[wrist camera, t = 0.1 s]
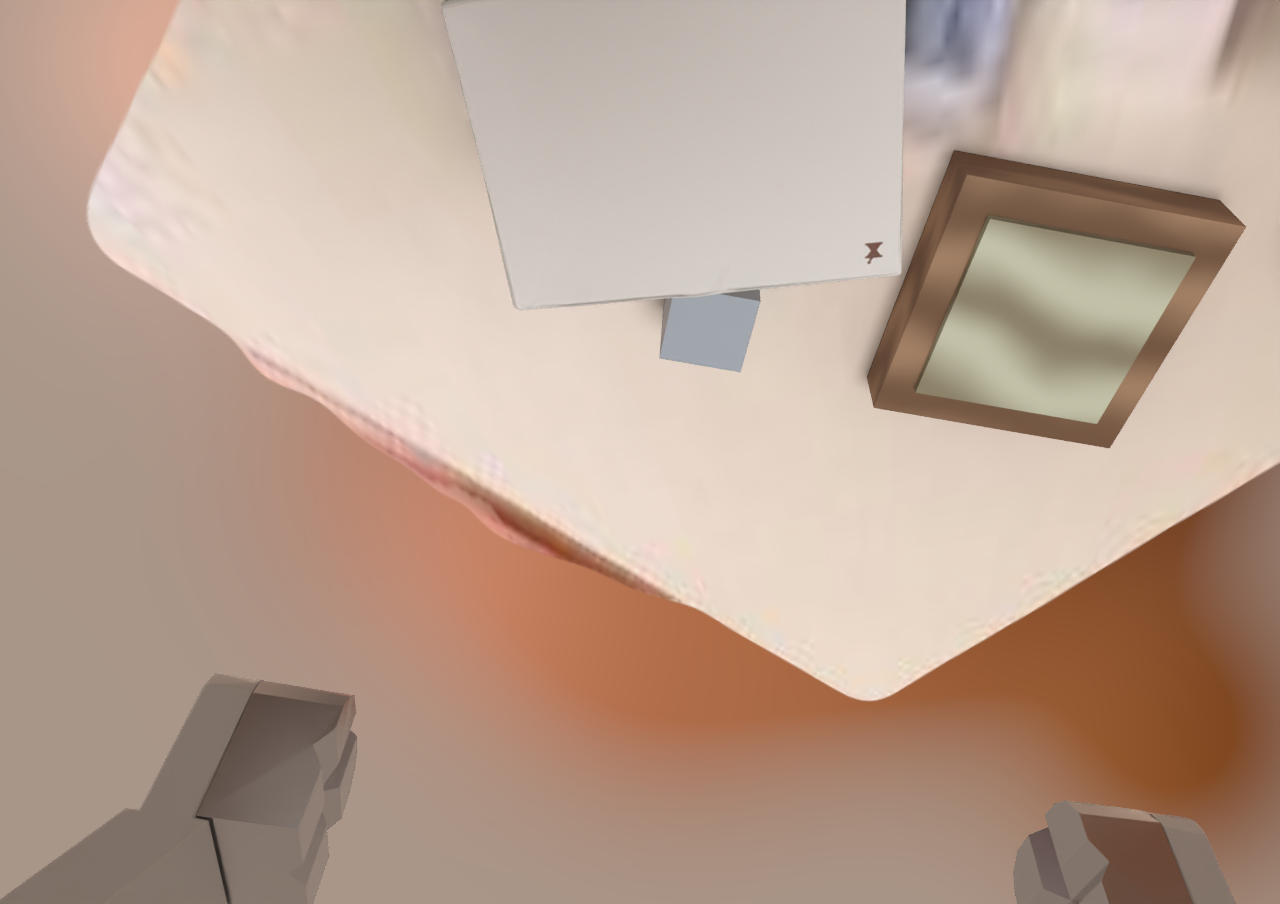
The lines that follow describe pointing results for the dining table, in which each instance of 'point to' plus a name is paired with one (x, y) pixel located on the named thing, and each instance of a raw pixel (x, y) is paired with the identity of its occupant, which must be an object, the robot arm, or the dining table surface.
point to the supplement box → (685, 142)
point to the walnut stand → (1045, 298)
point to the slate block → (709, 329)
